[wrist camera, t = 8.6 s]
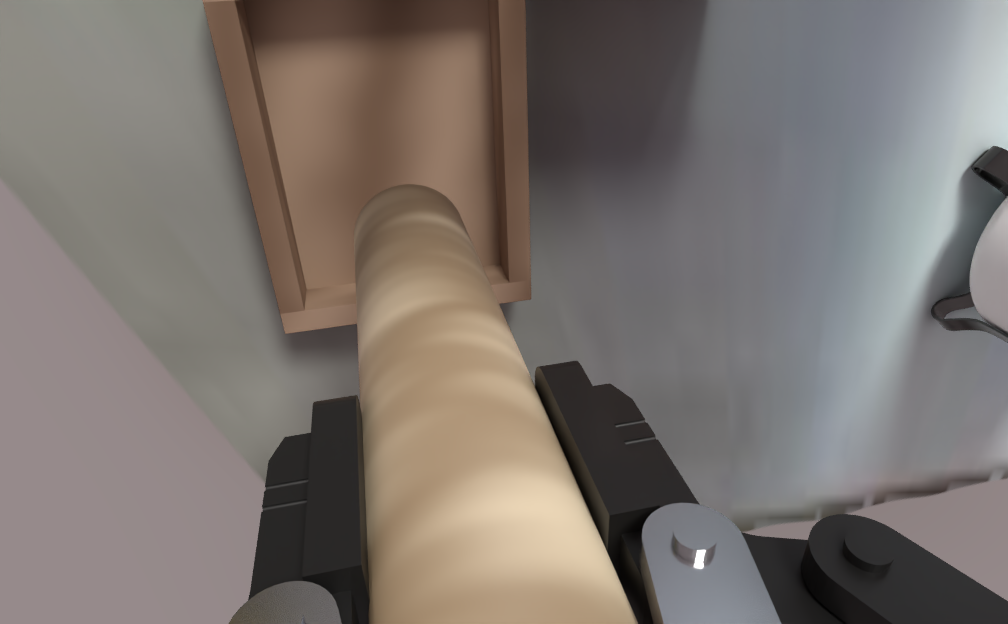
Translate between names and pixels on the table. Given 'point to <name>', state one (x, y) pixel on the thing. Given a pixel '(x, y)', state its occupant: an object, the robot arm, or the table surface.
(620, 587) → the dowel
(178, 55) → the table surface
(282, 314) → the tray
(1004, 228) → the coffee press
